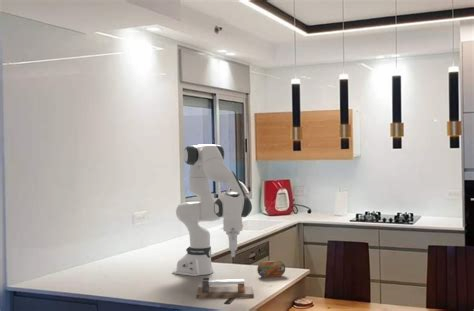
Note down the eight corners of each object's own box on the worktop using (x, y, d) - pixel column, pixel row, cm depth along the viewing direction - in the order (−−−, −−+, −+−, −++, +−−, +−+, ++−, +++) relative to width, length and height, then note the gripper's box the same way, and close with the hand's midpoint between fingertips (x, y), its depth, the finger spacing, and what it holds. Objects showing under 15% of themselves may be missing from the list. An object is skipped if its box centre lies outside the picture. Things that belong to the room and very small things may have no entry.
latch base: (196, 298, 244) (196, 283, 244) (198, 290, 258) (198, 275, 258) (253, 297, 244) (253, 282, 244) (252, 289, 258) (252, 274, 258)
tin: (258, 278, 280) (258, 262, 280) (256, 277, 283) (256, 261, 283) (285, 276, 284) (285, 260, 284) (283, 275, 287) (283, 259, 287)
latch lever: (204, 284, 249) (204, 282, 249) (204, 282, 253) (204, 280, 253) (244, 283, 249) (244, 281, 249) (244, 281, 253) (244, 278, 253)
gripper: (240, 230, 241) (240, 261, 241) (239, 223, 261) (239, 251, 261) (225, 230, 240) (226, 261, 241) (226, 223, 261) (226, 251, 261)
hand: (233, 256), depth 251 cm, fingers closed
